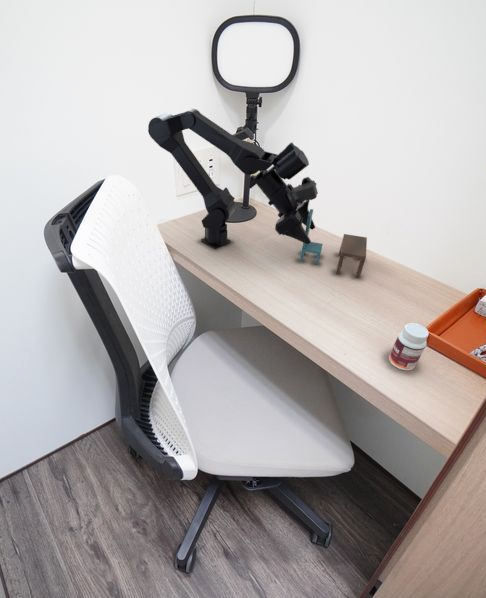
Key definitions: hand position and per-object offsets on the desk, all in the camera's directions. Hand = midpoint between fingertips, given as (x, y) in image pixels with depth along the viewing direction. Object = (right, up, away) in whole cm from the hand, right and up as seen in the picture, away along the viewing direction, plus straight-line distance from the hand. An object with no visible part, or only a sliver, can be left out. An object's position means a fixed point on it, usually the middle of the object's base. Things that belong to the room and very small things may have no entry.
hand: (311, 235), depth 97 cm
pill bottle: (+10, -30, -27) cm, 41 cm away
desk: (+10, -8, +1) cm, 13 cm away
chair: (+1, -6, +4) cm, 7 cm away
